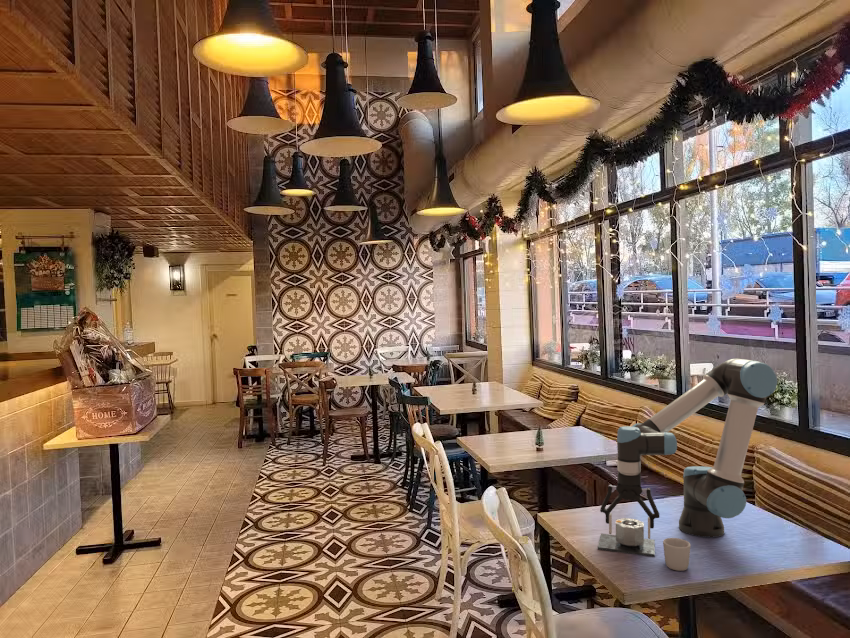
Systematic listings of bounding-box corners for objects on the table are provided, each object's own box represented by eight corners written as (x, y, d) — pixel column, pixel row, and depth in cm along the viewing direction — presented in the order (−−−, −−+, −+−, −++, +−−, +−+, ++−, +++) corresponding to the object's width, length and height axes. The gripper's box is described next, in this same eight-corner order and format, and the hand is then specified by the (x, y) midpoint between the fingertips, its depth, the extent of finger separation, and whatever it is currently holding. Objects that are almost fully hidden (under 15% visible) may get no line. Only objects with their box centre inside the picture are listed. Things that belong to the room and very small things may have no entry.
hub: (643, 537, 206) (643, 519, 206) (643, 546, 198) (643, 528, 198) (616, 534, 209) (616, 516, 209) (615, 543, 201) (615, 525, 201)
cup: (654, 559, 193) (654, 534, 193) (678, 558, 194) (677, 533, 193) (671, 573, 182) (670, 548, 182) (695, 572, 183) (695, 546, 183)
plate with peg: (654, 542, 207) (654, 519, 207) (654, 556, 195) (654, 532, 195) (601, 535, 213) (600, 513, 213) (597, 549, 201) (597, 526, 201)
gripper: (666, 472, 202) (667, 535, 203) (593, 466, 211) (594, 527, 211) (667, 478, 195) (667, 543, 196) (591, 472, 204) (592, 534, 204)
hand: (629, 535), depth 204 cm, fingers open, 12 cm apart
